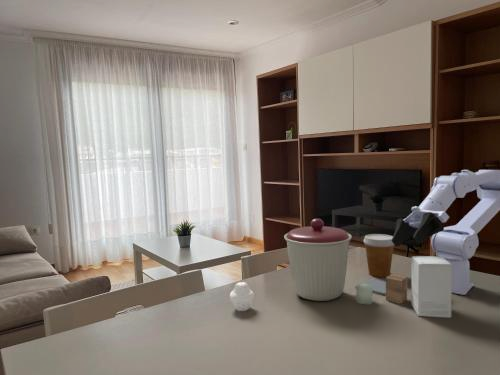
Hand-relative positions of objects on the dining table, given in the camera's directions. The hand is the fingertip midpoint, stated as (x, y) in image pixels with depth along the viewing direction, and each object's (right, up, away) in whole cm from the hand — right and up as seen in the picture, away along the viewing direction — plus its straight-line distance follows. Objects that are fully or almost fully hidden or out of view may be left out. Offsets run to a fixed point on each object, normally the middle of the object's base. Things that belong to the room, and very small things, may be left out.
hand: (404, 242), depth 92 cm
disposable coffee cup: (+3, -14, +26) cm, 30 cm away
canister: (-19, -16, +11) cm, 28 cm away
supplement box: (+5, -17, -2) cm, 17 cm away
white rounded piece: (-40, -18, +3) cm, 44 cm away
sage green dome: (-8, -16, +5) cm, 19 cm away
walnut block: (0, -16, +6) cm, 17 cm away
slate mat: (-2, -15, +15) cm, 21 cm away
